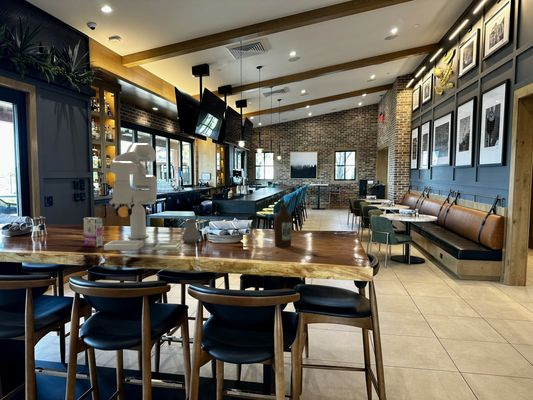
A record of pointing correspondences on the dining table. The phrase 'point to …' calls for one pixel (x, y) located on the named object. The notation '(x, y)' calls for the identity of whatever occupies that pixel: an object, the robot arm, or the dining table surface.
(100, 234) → the candy bar box
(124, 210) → the ball
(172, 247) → the tray
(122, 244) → the shallow white tray
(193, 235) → the coffee pot
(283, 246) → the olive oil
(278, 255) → the dining table surface
